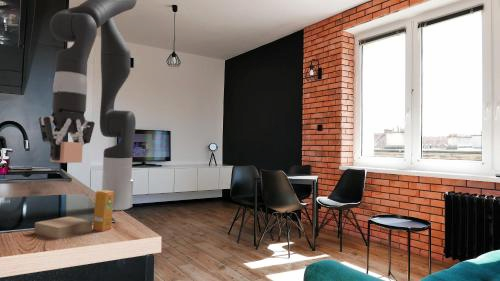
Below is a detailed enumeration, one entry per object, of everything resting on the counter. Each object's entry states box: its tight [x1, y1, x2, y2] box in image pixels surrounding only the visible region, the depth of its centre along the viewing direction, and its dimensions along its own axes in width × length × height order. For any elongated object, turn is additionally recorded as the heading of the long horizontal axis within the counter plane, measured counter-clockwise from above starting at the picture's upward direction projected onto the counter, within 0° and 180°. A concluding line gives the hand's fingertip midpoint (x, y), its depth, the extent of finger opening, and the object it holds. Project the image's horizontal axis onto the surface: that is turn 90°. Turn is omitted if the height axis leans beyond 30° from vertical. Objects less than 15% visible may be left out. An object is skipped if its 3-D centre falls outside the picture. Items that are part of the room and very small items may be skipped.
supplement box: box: [92, 190, 114, 232], centre depth 91 cm, size 3×3×10 cm
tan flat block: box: [34, 216, 93, 240], centre depth 87 cm, size 9×9×3 cm
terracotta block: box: [50, 141, 84, 164], centre depth 87 cm, size 5×5×5 cm
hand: (66, 159), depth 87 cm, fingers closed on terracotta block, 5 cm apart
